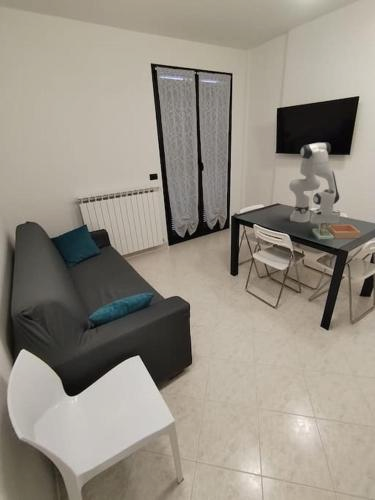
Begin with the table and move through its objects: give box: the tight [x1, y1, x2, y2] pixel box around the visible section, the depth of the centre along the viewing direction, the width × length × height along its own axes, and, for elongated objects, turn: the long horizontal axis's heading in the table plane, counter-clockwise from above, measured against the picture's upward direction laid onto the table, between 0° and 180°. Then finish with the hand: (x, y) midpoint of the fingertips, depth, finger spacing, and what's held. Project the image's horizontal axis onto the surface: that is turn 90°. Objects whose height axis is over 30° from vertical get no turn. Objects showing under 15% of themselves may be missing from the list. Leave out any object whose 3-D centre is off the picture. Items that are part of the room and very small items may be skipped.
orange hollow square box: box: [326, 224, 361, 240], centre depth 191 cm, size 17×17×6 cm
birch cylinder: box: [319, 223, 328, 234], centre depth 193 cm, size 4×4×8 cm
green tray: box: [312, 228, 334, 241], centre depth 195 cm, size 18×10×3 cm, turn 170°
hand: (323, 228), depth 193 cm, fingers closed on birch cylinder, 4 cm apart
